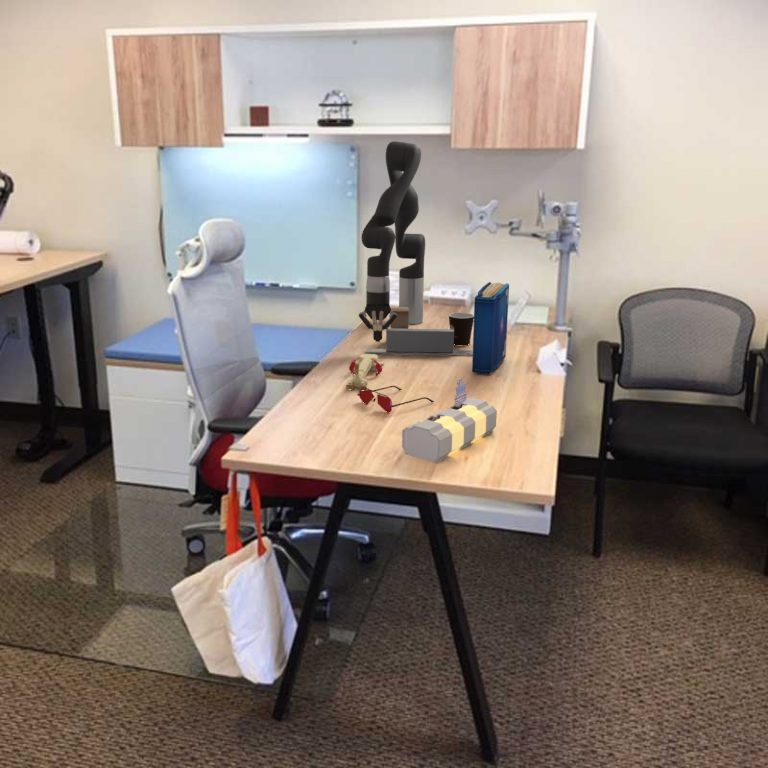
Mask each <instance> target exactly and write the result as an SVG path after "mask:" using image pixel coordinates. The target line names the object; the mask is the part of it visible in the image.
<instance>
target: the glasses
mask: <svg viewBox="0 0 768 768" xmlns="http://www.w3.org/2000/svg"><path fill="white" fill-rule="evenodd" d="M389 388H395V389H397V390H398V391H400V390H403V389H402V388H401V387H398V386H397V385H390V386H385V387H381V388H378V389H377V388H376V389H374V390H373V389H369V388H368V387H367V388H364V389H366V390H364V391H361V390H362V389H363V388H362V389H361V390H359V393H356V395H357V396H358V397H359V399H360V400H361V401H362V403H363V402H364V403H366V404H365V405H369V403H370V402H371V403H375V402H376V398H377V405H378V406H380V408H382V410H383V411H385V412H386V411H387V412H390V413H391V412H392V410H393V409H392V408H393V407H394V408H396V407H398V406H401V405H404V404H409V403H413V402H417V401H419V400H424V399H425V400H428V401H429V402H431V403H432V402H435V401H434V400H433V399H430V398H429V397H425V396H424V397H419V398H416V399H411V400H408V401H405V402H402V403H401V402H400V403H397V404H393V402H392V399H391V398H390V396H388V395H385V394H383V393H380V392H377V391H382V390H386V389H389ZM373 393H375V394H377V395H376V398H375V395H374V394H373ZM364 403H363V404H364ZM387 412H386V413H387Z"/></svg>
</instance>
